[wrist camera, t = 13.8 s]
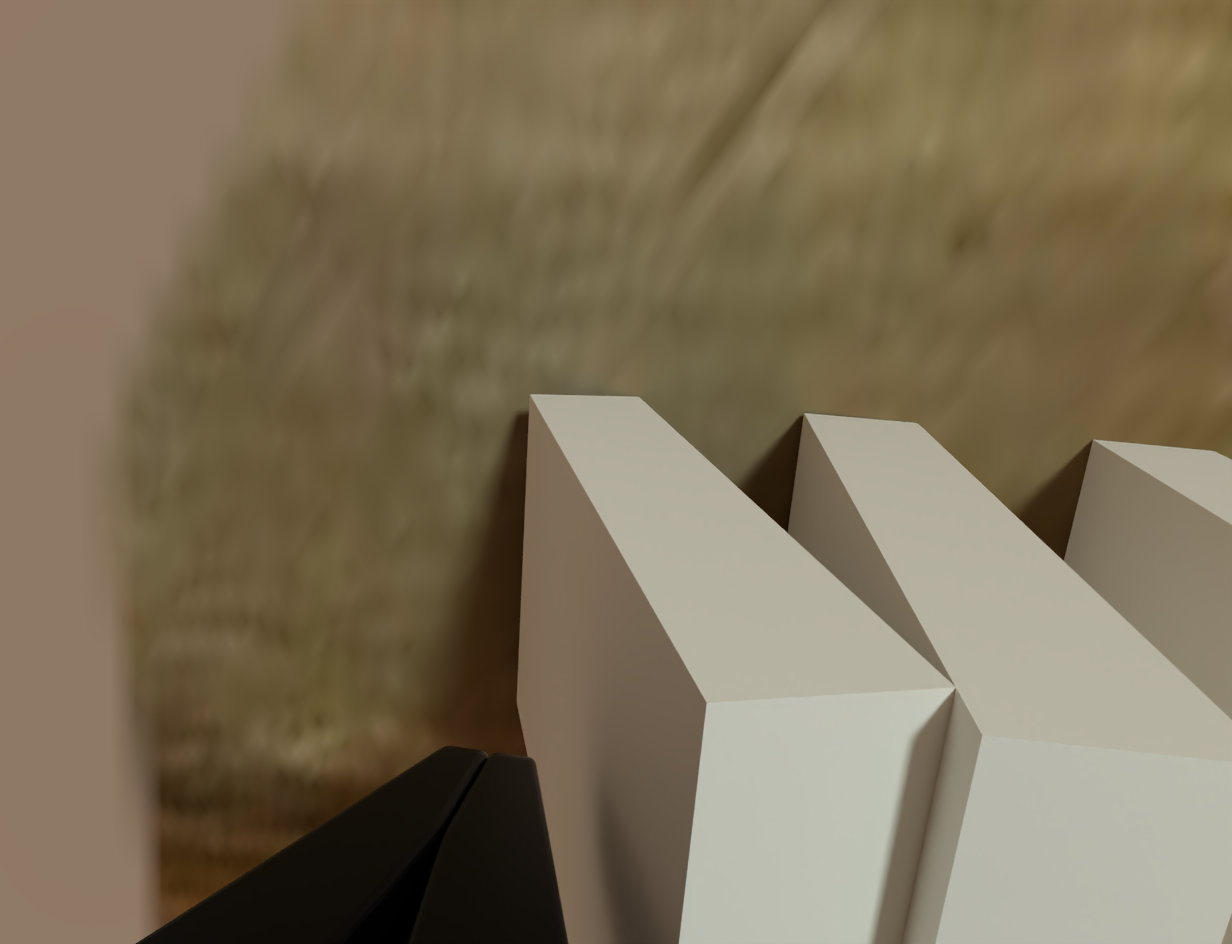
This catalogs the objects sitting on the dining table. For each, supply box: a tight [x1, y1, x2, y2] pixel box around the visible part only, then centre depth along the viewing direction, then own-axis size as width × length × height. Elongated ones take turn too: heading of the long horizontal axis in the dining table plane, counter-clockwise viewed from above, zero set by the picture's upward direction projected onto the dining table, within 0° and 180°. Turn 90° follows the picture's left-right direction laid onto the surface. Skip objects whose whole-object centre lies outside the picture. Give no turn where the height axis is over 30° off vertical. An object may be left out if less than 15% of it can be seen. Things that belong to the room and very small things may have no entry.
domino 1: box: [517, 394, 956, 944], centre depth 10 cm, size 2×5×8 cm, turn 176°
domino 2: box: [788, 413, 1232, 944], centre depth 9 cm, size 2×5×8 cm, turn 176°
